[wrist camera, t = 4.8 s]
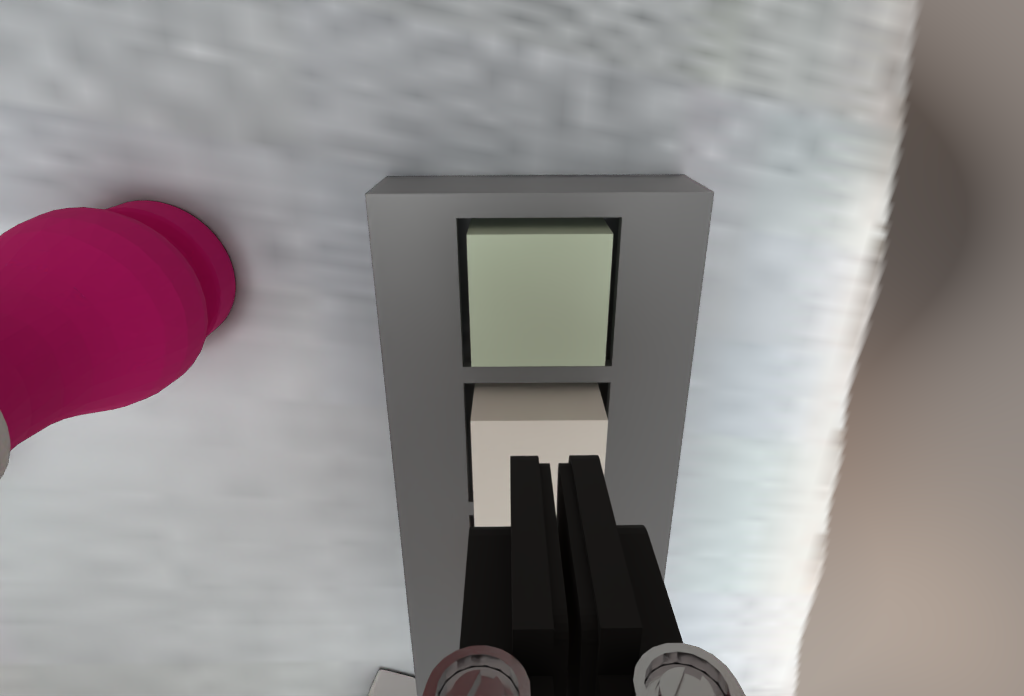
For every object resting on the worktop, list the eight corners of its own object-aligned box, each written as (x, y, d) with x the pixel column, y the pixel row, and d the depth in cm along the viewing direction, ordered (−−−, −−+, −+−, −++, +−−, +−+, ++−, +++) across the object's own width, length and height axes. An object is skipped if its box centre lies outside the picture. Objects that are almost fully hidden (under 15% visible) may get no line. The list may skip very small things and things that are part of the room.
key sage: (592, 327, 26) (604, 365, 23) (476, 328, 26) (471, 366, 23) (599, 210, 24) (613, 234, 21) (473, 212, 24) (466, 234, 21)
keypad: (633, 648, 36) (647, 717, 32) (428, 649, 36) (418, 718, 32) (683, 174, 24) (715, 192, 21) (386, 176, 25) (363, 194, 21)
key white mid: (589, 471, 28) (600, 529, 24) (479, 472, 28) (474, 529, 24) (595, 373, 25) (608, 420, 22) (476, 373, 26) (470, 420, 22)
